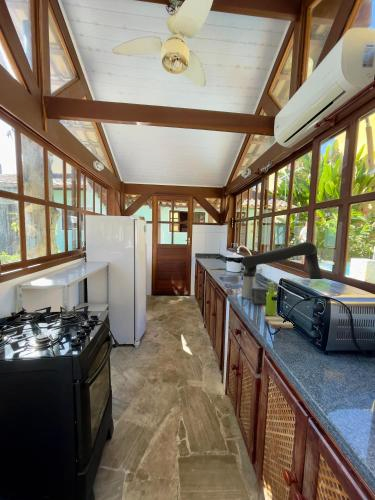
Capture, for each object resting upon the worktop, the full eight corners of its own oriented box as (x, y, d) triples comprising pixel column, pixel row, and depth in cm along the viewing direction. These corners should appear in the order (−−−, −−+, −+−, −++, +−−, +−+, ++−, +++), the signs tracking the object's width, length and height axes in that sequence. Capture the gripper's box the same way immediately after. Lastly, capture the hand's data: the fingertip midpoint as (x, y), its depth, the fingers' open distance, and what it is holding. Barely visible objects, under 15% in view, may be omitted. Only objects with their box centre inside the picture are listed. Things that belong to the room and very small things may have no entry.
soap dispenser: (275, 312, 143) (276, 281, 141) (276, 316, 136) (277, 284, 135) (265, 311, 145) (266, 281, 143) (265, 315, 138) (267, 283, 137)
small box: (266, 302, 165) (266, 288, 164) (268, 304, 158) (268, 290, 157) (251, 301, 166) (251, 287, 165) (253, 304, 159) (253, 289, 158)
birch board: (264, 319, 131) (264, 316, 131) (284, 319, 131) (284, 316, 131) (272, 328, 119) (272, 324, 119) (294, 328, 119) (294, 324, 119)
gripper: (289, 288, 147) (265, 287, 147) (300, 294, 133) (273, 293, 132) (289, 299, 147) (264, 299, 147) (300, 306, 133) (273, 306, 133)
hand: (269, 296), depth 140 cm, fingers open, 8 cm apart
